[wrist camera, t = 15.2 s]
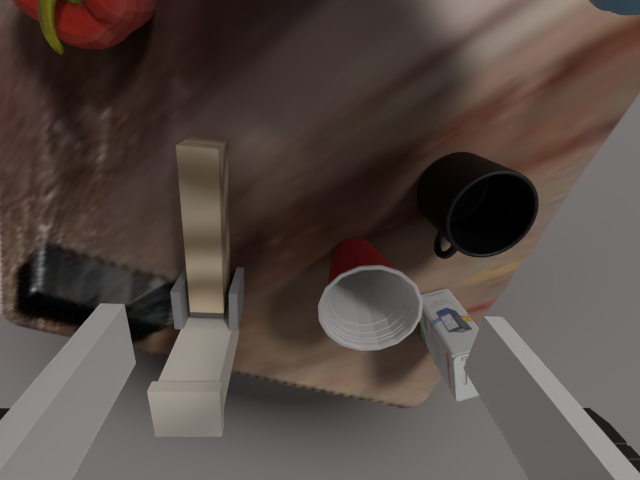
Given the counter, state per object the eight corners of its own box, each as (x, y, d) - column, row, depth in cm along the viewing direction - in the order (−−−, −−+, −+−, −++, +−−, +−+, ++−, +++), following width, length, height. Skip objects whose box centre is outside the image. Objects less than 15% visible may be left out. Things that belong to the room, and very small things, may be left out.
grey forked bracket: (185, 264, 43) (135, 351, 29) (244, 267, 44) (222, 353, 30) (192, 335, 48) (152, 436, 34) (244, 336, 49) (225, 436, 35)
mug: (392, 227, 43) (416, 262, 35) (441, 138, 38) (481, 155, 30) (452, 249, 45) (488, 287, 37) (505, 168, 40) (559, 191, 32)
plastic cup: (317, 215, 41) (326, 263, 30) (400, 223, 42) (436, 273, 32) (307, 287, 46) (311, 351, 35) (381, 292, 47) (407, 356, 36)
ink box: (414, 295, 48) (449, 356, 37) (449, 286, 48) (494, 346, 37) (420, 338, 52) (453, 405, 41) (452, 330, 51) (494, 395, 41)
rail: (190, 136, 36) (175, 145, 31) (227, 140, 36) (218, 148, 32) (200, 293, 45) (190, 317, 40) (230, 294, 45) (223, 318, 41)
